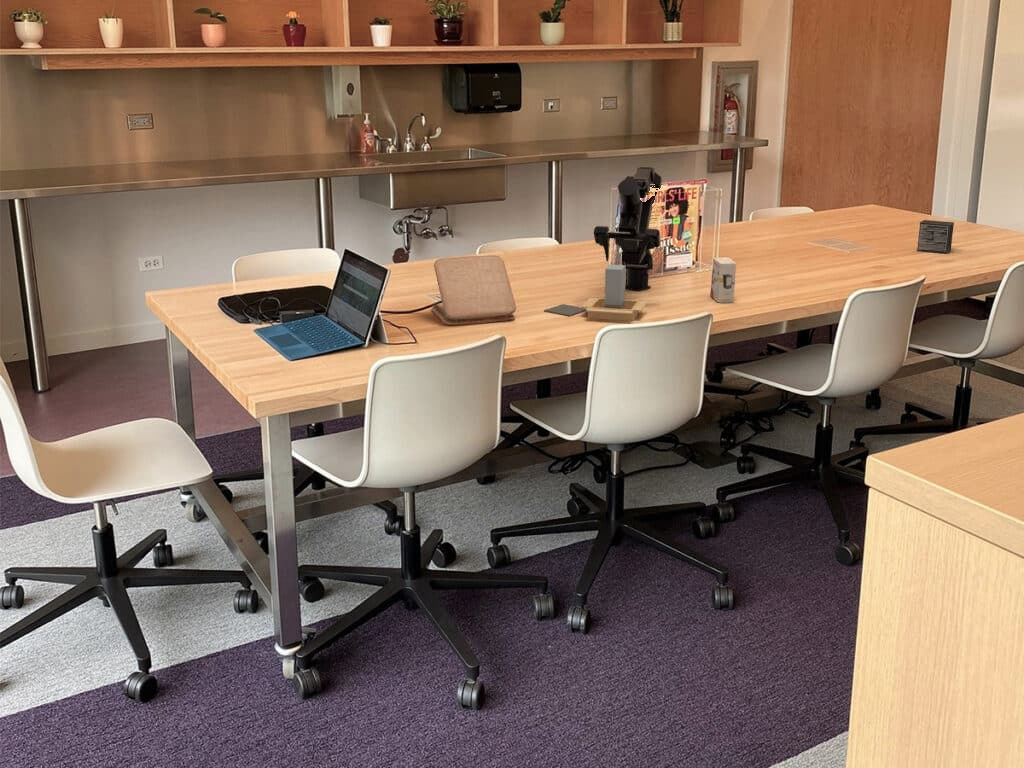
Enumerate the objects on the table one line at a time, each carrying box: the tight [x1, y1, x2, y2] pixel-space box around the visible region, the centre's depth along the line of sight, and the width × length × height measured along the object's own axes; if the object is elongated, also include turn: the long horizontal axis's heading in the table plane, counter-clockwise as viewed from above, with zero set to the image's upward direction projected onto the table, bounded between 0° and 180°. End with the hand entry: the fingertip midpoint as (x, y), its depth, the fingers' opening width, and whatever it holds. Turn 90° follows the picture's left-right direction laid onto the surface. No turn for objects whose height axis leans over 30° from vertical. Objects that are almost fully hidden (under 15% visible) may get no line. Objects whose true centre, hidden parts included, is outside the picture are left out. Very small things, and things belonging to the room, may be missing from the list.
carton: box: [581, 297, 648, 322], centre depth 313 cm, size 18×17×3 cm
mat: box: [543, 303, 587, 317], centre depth 317 cm, size 9×9×1 cm
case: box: [431, 254, 517, 326], centre depth 311 cm, size 20×21×16 cm
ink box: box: [709, 256, 737, 304], centre depth 327 cm, size 9×5×12 cm, turn 6°
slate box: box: [604, 264, 626, 309], centre depth 311 cm, size 6×4×13 cm
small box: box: [916, 219, 955, 255], centre depth 394 cm, size 11×6×10 cm, turn 58°
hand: (623, 261), depth 317 cm, fingers open, 9 cm apart
